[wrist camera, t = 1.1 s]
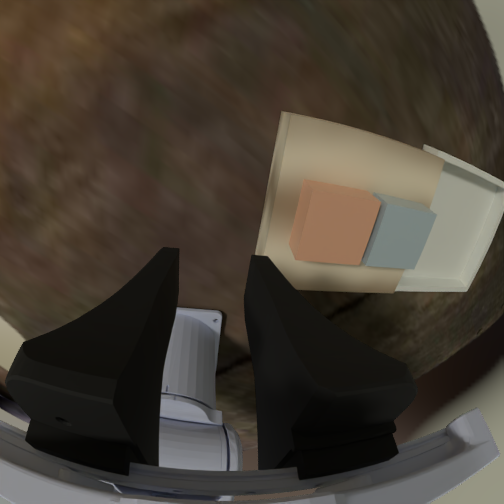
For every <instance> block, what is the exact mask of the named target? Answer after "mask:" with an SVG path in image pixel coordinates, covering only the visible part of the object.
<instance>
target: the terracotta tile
mask: <svg viewBox="0 0 504 504" xmlns="http://www.w3.org/2000/svg"><path fill="white" fill-rule="evenodd" d="M380 205H381V201H379V200H378V199H377V198H376V197H374V196H373V195H372V194H371V193H370V192H368V191H366V190H361V189H356V188H351V187H346V186H341V185H335V184H330V183H324V182H318V181H312V180H306V179H304V180H303V185H302V189H301V193H300V198H299V202H298V207H297V211H296V215H295V219H294V224H293V228H292V232H291V236H290V240H289V246H290V248H291V251H292V253H293V256H294V259H295V260H299V261H311V262H324V263H336V264H349V265H360V262H361V259H362V257H363V254H364V251H365V249H366V246H367V243H368V241H369V238H370V235H371V232H372V229H373V226H374V223H375V220H376V217H377V214H378V211H379V208H380Z"/></svg>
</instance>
